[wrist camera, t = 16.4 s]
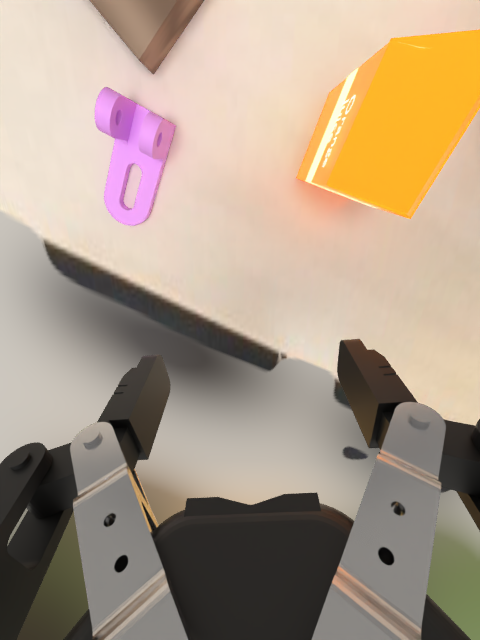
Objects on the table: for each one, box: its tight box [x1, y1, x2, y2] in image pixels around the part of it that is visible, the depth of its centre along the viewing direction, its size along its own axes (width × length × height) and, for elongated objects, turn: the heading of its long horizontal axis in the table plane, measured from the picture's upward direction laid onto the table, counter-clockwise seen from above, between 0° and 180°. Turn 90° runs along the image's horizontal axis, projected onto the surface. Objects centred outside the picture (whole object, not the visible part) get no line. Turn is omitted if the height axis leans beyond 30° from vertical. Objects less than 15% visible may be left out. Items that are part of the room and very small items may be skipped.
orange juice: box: [296, 30, 480, 219], centre depth 23 cm, size 8×9×20 cm
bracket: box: [95, 87, 176, 225], centre depth 30 cm, size 13×6×7 cm, turn 154°
